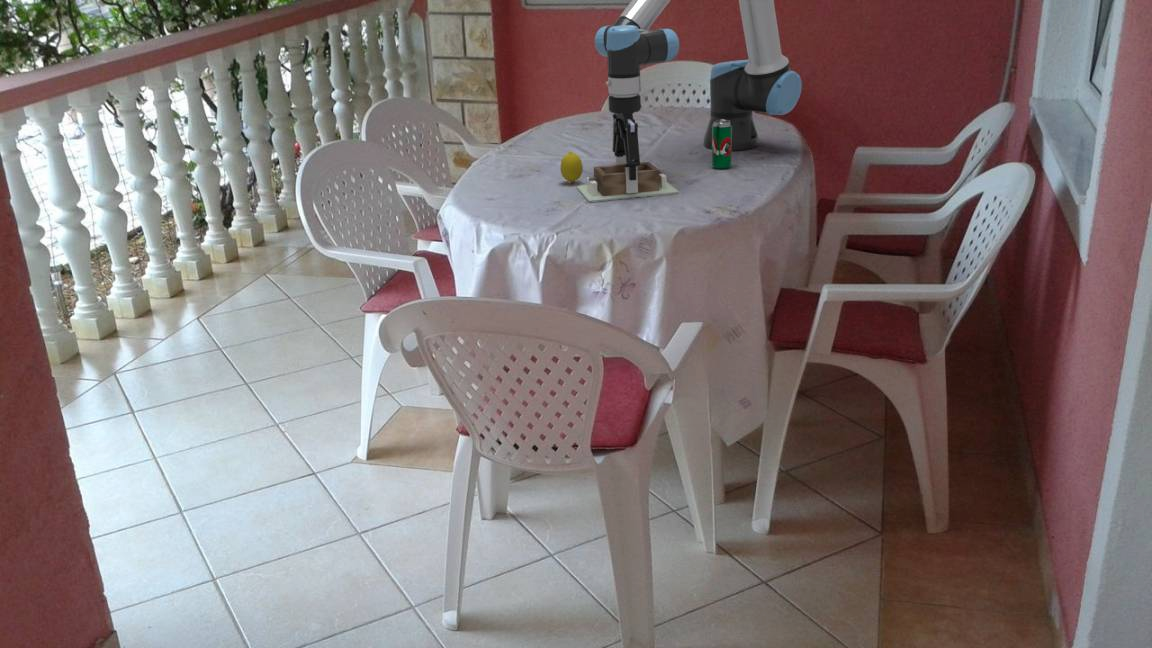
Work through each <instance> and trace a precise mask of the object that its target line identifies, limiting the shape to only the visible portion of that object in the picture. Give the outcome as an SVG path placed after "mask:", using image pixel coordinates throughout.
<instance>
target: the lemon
mask: <svg viewBox="0 0 1152 648" xmlns="http://www.w3.org/2000/svg"><path fill="white" fill-rule="evenodd" d="M583 166H584V165H583V162H582V159H581V157H580V156H579V155H578V154H576V153H573V151H569V153H567V154H565V155H564V156H563V157H562V159H561V162H560V173H561V175H562V177H563V179H564V180H566V181H568V182H569V183H570V184H574V183H575V182H576V181H577V180H579V179H580V177H582V174H583V169H584V168H583Z"/></svg>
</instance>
